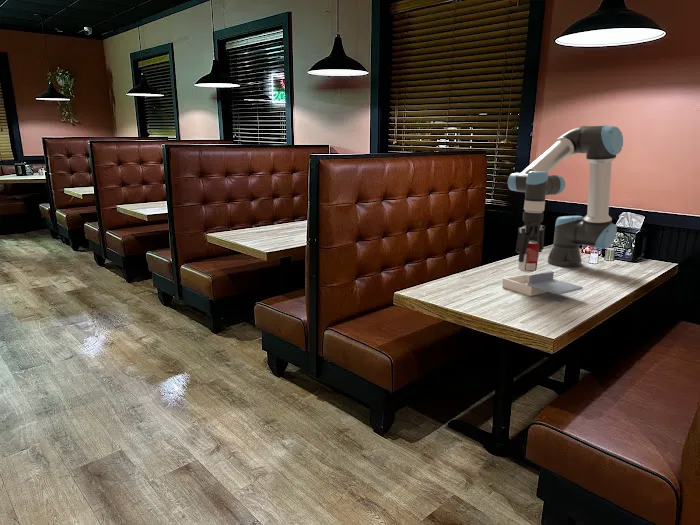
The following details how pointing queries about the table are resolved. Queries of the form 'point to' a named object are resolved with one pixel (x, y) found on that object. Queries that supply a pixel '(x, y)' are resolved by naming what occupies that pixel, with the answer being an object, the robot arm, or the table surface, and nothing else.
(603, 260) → the table surface
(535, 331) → the table surface
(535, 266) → the soda can
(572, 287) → the lid
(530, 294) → the mailer box
